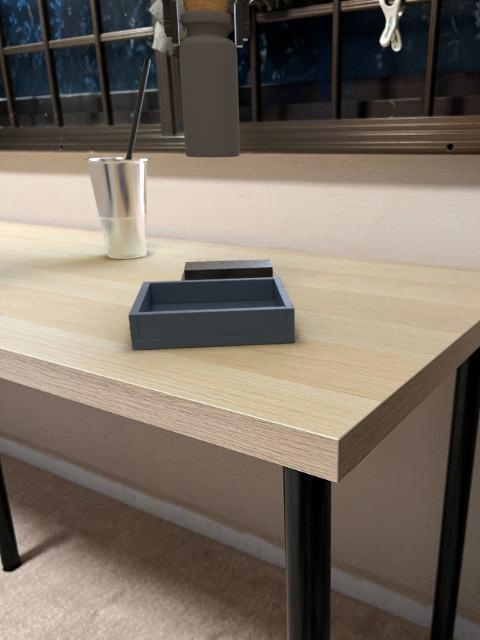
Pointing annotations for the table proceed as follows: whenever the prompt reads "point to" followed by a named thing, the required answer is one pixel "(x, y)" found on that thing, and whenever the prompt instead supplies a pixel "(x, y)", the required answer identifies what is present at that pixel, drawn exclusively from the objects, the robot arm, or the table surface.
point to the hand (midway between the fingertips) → (208, 44)
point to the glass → (123, 193)
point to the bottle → (209, 81)
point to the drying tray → (211, 313)
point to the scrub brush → (228, 269)
